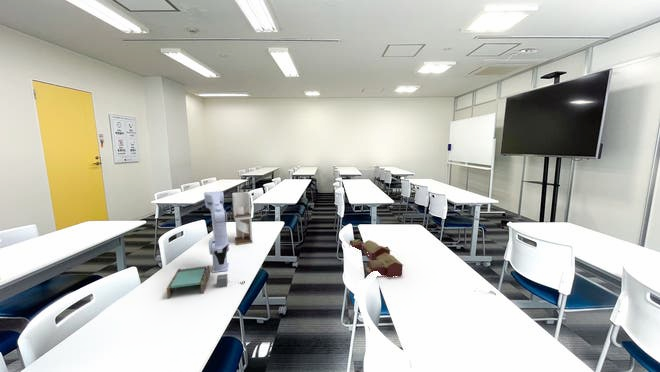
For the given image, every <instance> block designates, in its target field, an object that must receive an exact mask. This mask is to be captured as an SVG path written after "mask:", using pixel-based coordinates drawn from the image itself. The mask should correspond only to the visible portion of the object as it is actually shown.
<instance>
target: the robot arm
mask: <svg viewBox="0 0 660 372" xmlns="http://www.w3.org/2000/svg"><path fill="white" fill-rule="evenodd" d="M203 194H204V197H203V198H204V204H205V208H206V209H208V210H209V211H210V214H211V215H210V216H211V223H212V233H213V236H212V237H211V238H210V239H209V240H208V250H209V254H210V255H211V256H212V271H211V273H218V272H219V273H220V272H227V271H228V269H229V265H230V262H228V257H227V256H228V252H229V251H230V245H231V242H229V239H228V232H227V231H228V230H227V221H228V214H227V211H226V210H225V208H224V199H225V198H224V197H225V195H224V192H223V190H219V191H217V190H216V191H209V192H208V191H205V192H204V193H203Z"/></svg>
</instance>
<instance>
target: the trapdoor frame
mask: <svg viewBox="0 0 660 372" xmlns="http://www.w3.org/2000/svg"><path fill="white" fill-rule="evenodd" d="M181 269H182V268H178V269H177V271H176V272H175V274H174V276H173V277H172V279H171V280H170V282H169V284H168V285H167V287H166V294H167V295H166V296H167V299H169V300H170V299H171V298H172V296H173V294H174V292H175V291H176V289H177V288H171V287H170V286H171V284H172V283H173V281H174V279H175V278H176V276H177V274H178V272H179V271H180V270H181ZM210 276H211V268H210V265H209V264H208V265H206V271H205V273H204V275H203V278H202V280H201V283H200V291H201V292H200V294H205V291H206V288H207V285H208V282H209V278H210Z"/></svg>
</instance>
